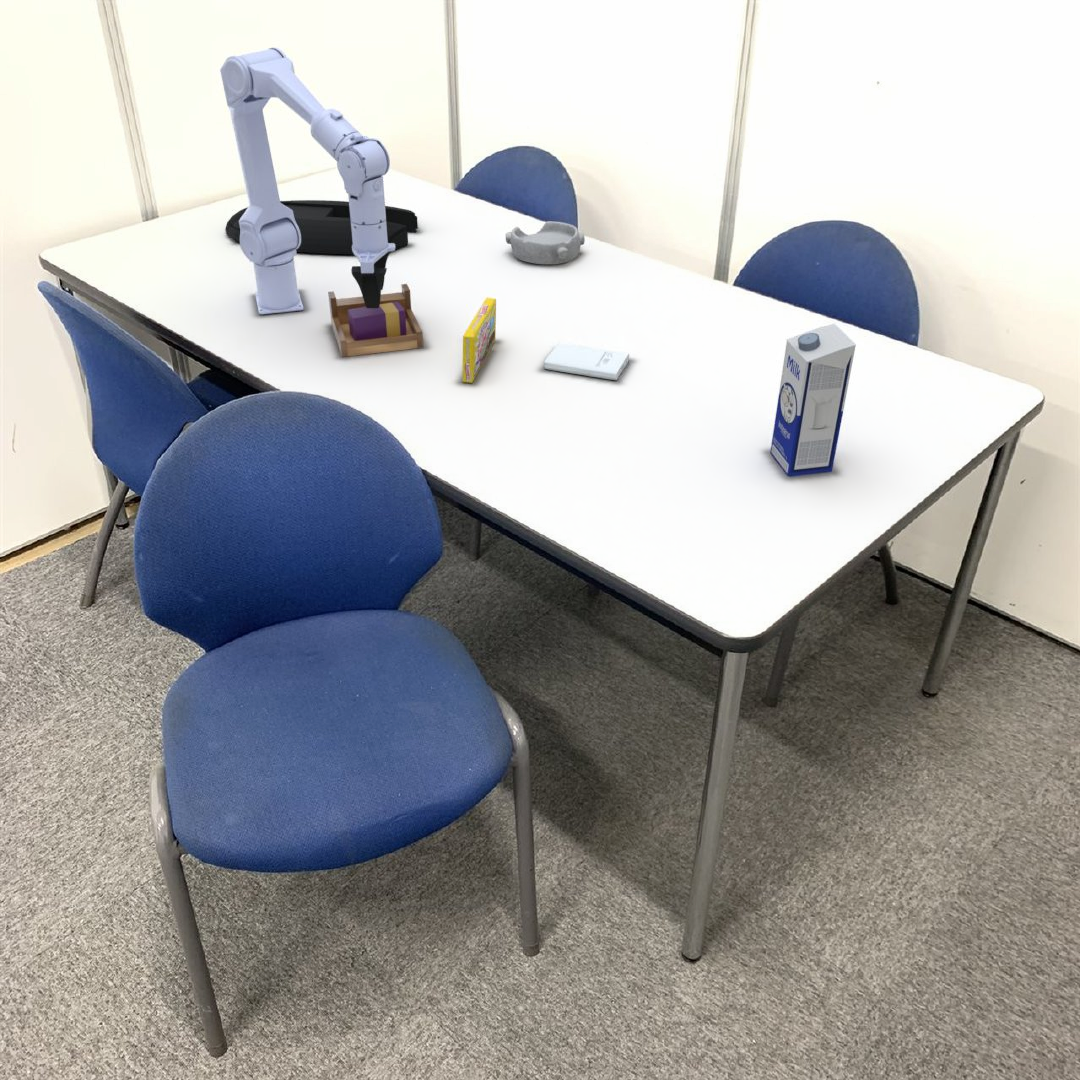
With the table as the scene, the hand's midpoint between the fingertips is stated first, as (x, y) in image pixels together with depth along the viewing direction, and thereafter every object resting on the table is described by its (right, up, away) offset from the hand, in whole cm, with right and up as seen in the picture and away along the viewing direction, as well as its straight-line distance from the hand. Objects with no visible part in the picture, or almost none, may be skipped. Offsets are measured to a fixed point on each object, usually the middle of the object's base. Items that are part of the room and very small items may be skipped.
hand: (374, 298), depth 186 cm
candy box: (+18, -11, -1) cm, 21 cm away
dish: (+29, +17, +39) cm, 52 cm away
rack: (-1, -5, +6) cm, 8 cm away
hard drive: (+36, -12, -2) cm, 38 cm away
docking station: (-19, +24, +48) cm, 57 cm away
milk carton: (+66, -30, -27) cm, 77 cm away
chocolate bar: (0, -5, +4) cm, 7 cm away
